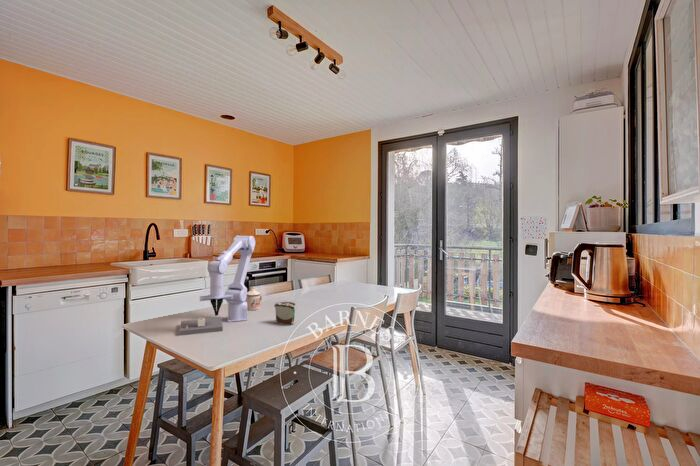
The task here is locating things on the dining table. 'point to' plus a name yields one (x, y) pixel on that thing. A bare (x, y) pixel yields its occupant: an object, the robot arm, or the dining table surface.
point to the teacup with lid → (253, 300)
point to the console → (192, 326)
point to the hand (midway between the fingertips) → (216, 315)
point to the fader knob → (201, 321)
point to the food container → (285, 312)
